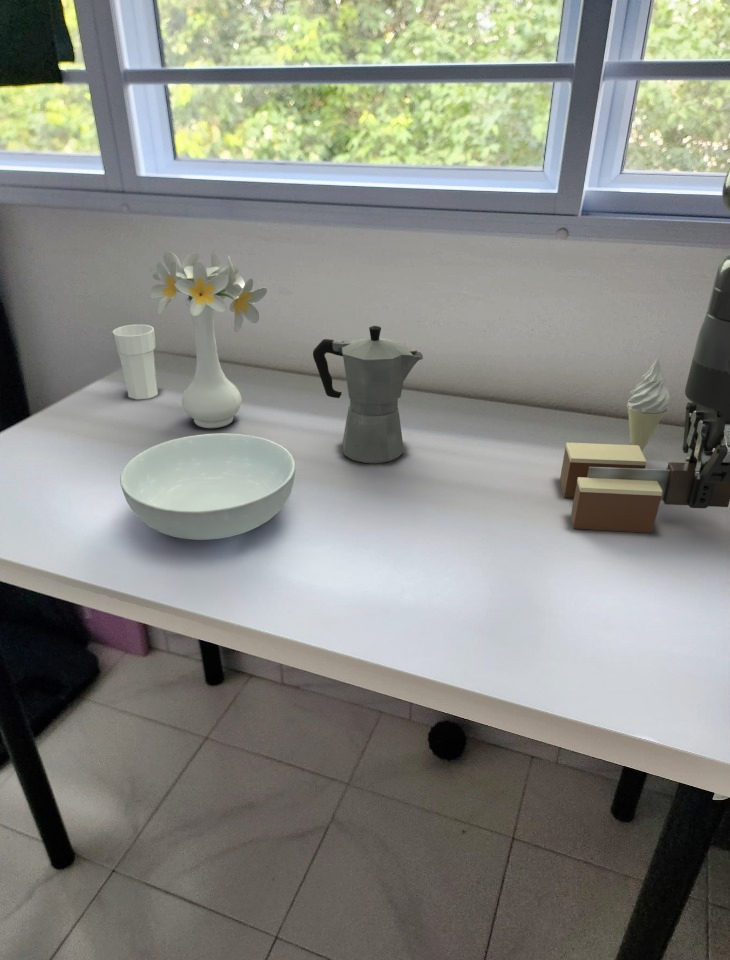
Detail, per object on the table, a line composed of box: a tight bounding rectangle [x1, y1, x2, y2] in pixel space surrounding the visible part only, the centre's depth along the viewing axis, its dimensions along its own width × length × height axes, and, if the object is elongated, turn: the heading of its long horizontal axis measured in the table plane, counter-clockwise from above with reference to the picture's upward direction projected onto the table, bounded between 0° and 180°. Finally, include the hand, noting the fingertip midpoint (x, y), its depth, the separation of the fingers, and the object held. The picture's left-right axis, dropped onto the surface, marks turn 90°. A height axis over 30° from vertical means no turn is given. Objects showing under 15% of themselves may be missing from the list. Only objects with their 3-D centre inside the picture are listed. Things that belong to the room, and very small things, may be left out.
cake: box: [559, 442, 648, 499], centre depth 95 cm, size 9×5×6 cm, turn 82°
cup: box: [111, 323, 159, 400], centre depth 126 cm, size 7×7×11 cm
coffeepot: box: [312, 325, 424, 464], centre depth 104 cm, size 15×9×18 cm, turn 70°
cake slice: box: [570, 477, 663, 534], centre depth 88 cm, size 9×3×6 cm, turn 82°
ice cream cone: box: [626, 356, 670, 452], centre depth 100 cm, size 5×5×15 cm
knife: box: [587, 461, 730, 508], centre depth 88 cm, size 16×2×4 cm, turn 82°
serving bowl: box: [119, 432, 297, 541], centre depth 91 cm, size 21×21×7 cm
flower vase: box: [148, 250, 268, 429], centre depth 111 cm, size 13×18×25 cm
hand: (693, 499), depth 88 cm, fingers closed on knife, 2 cm apart
